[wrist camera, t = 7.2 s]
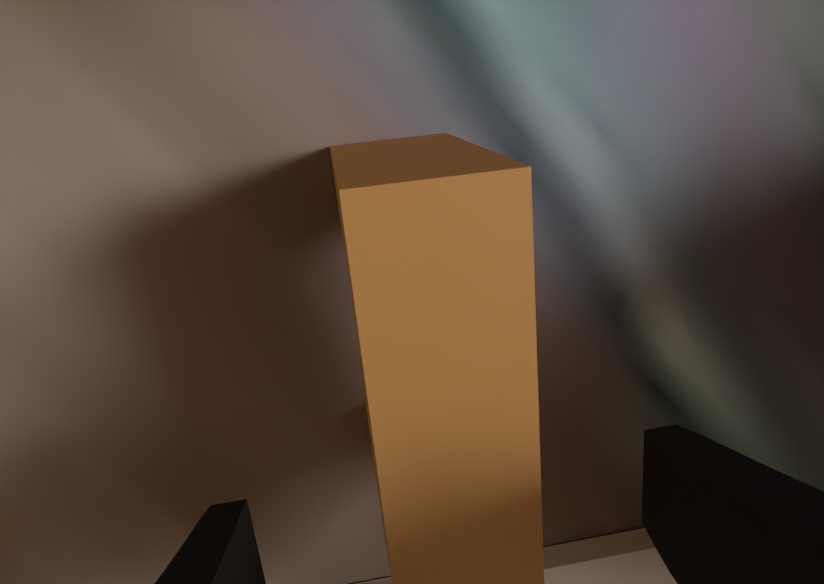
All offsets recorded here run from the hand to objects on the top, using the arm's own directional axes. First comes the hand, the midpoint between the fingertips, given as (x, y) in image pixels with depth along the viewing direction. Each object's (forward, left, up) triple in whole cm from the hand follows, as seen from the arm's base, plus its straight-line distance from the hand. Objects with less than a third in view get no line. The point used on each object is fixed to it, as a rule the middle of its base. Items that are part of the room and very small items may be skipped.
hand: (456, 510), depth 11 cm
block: (+2, 0, -5) cm, 5 cm away
